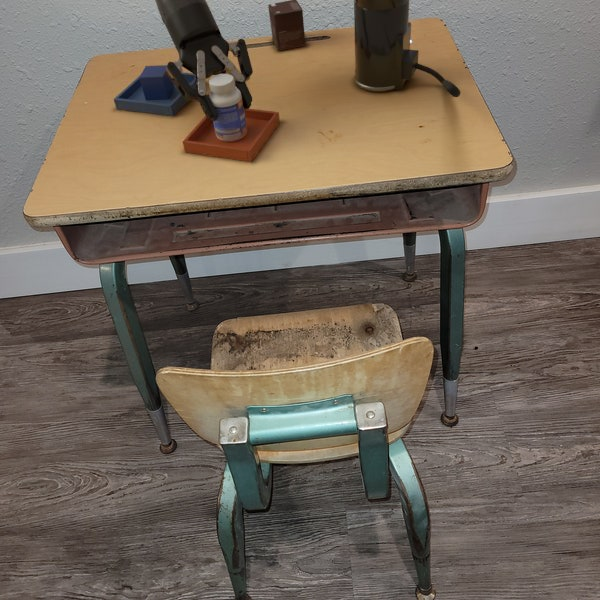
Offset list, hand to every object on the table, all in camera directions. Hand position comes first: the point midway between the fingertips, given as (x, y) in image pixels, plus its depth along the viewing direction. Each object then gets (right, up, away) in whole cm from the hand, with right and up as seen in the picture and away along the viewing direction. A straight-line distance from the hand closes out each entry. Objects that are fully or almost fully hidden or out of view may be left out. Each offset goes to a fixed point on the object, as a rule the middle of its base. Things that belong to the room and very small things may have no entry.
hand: (232, 112), depth 96 cm
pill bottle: (0, -2, +5) cm, 5 cm away
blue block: (-15, +9, +17) cm, 24 cm away
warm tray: (0, -3, +5) cm, 5 cm away
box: (+9, +23, +28) cm, 38 cm away
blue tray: (-15, +8, +17) cm, 24 cm away
